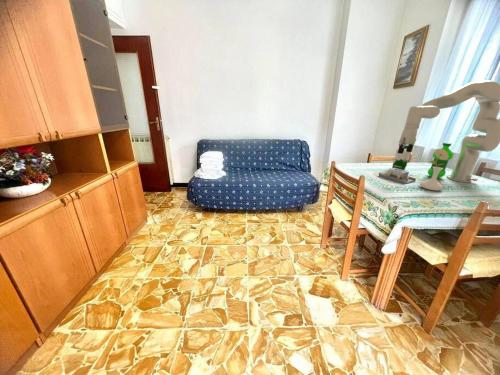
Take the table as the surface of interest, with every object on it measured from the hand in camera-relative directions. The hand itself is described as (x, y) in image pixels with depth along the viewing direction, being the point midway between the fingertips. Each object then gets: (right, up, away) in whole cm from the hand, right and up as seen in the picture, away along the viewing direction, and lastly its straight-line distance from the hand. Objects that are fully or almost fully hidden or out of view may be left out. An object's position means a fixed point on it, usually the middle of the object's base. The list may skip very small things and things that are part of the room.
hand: (404, 152), depth 140 cm
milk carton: (+13, -11, +25) cm, 30 cm away
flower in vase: (+9, -25, -9) cm, 28 cm away
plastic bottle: (+31, -17, +11) cm, 37 cm away
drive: (0, -17, +7) cm, 18 cm away
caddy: (-1, -18, +7) cm, 19 cm away
